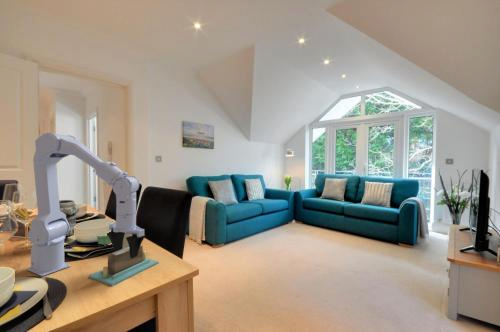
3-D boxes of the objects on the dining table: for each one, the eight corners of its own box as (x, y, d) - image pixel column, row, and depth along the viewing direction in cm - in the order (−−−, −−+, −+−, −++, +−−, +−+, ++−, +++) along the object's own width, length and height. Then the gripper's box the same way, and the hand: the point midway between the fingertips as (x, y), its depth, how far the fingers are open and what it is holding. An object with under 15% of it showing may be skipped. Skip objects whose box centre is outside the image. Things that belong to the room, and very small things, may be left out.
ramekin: (126, 240, 106) (126, 230, 106) (109, 248, 97) (109, 237, 97) (108, 238, 108) (108, 229, 108) (91, 245, 99) (91, 235, 99)
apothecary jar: (83, 243, 101) (82, 201, 100) (46, 251, 92) (45, 205, 91) (75, 237, 109) (74, 197, 108) (40, 244, 100) (39, 201, 99)
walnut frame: (107, 273, 75) (107, 253, 74) (135, 261, 84) (135, 243, 83) (115, 275, 73) (115, 256, 73) (142, 263, 82) (142, 245, 82)
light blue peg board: (89, 277, 73) (89, 265, 73) (136, 257, 89) (136, 247, 88) (112, 286, 68) (112, 273, 68) (158, 263, 84) (158, 253, 84)
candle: (127, 252, 93) (127, 226, 93) (115, 250, 94) (115, 225, 94) (136, 246, 98) (136, 222, 98) (125, 245, 100) (125, 221, 99)
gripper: (100, 213, 77) (99, 254, 78) (130, 219, 71) (130, 264, 72) (120, 209, 84) (119, 247, 84) (149, 214, 78) (149, 255, 78)
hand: (125, 254), depth 78 cm, fingers open, 7 cm apart
